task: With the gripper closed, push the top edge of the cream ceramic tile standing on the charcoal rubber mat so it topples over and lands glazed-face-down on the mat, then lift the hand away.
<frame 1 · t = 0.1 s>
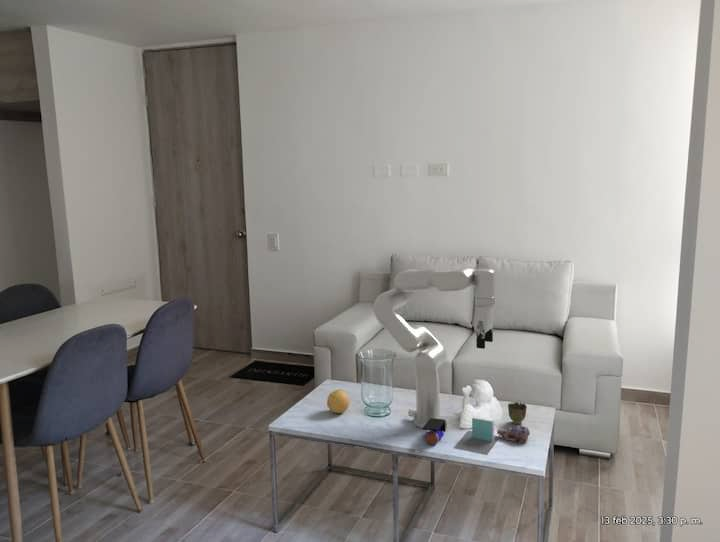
hand: (484, 344, 227), 37 cm above the table, fingers open, 9 cm apart
tile: (482, 438, 228), resting on mat
skull: (513, 439, 228), on the table, touching mat
figurine character: (435, 439, 231), on the table
orange fruit: (338, 412, 259), on the table
mat: (477, 443, 225), on the table
cup: (517, 424, 242), on the table
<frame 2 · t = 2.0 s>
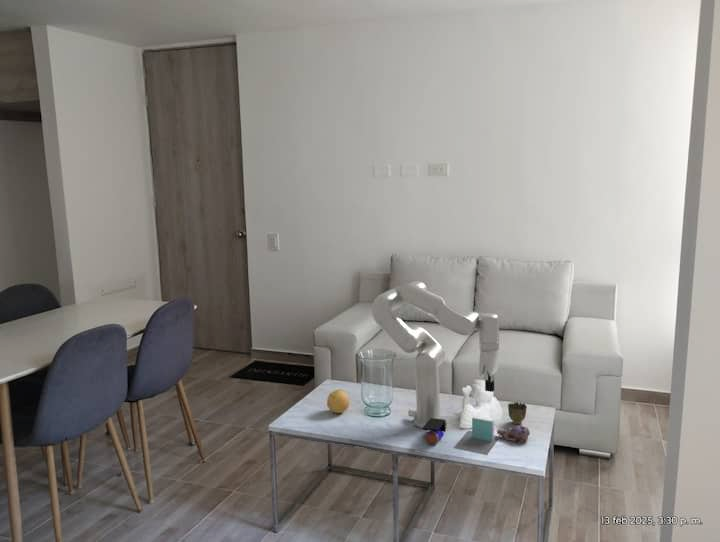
hand: (489, 390, 231), 18 cm above the table, fingers closed
nothing on the table moved.
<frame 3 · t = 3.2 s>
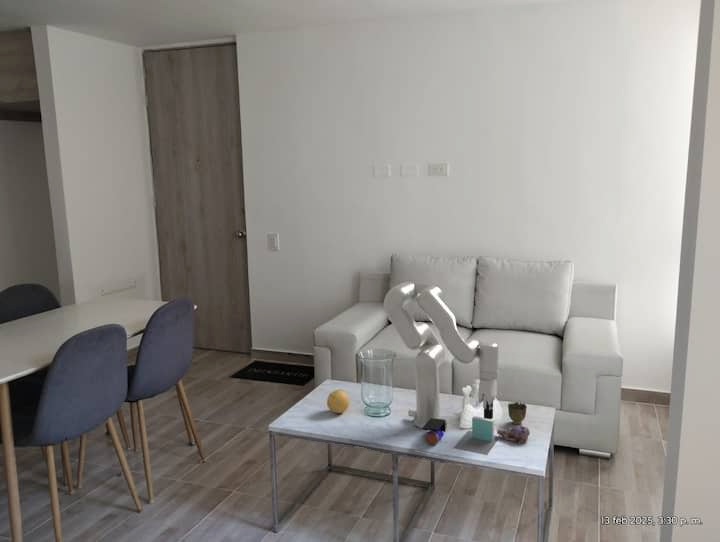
hand: (488, 418, 233), 6 cm above the table, fingers closed
nothing on the table moved.
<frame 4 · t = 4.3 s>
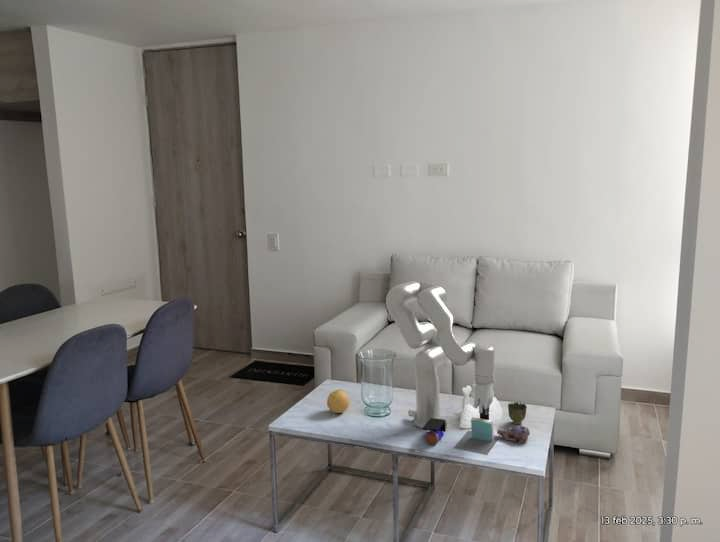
hand: (484, 423, 229), 6 cm above the table, fingers closed
tile: (482, 438, 228), point 1 cm above the table, tilted 11°, touching mat
everything else where it was.
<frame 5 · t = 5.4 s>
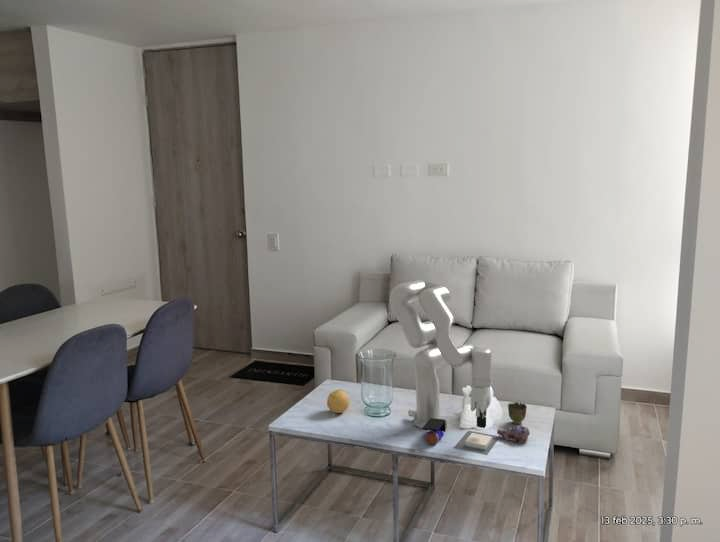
hand: (481, 426, 226), 6 cm above the table, fingers closed
tile: (482, 437, 227), point 1 cm above the table, tilted 90°, touching mat
everything else where it was.
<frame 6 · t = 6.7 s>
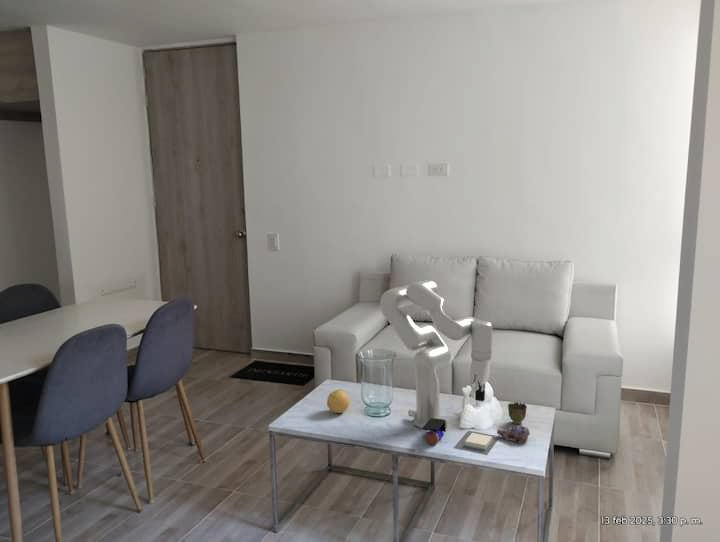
hand: (479, 399, 224), 17 cm above the table, fingers closed
nothing on the table moved.
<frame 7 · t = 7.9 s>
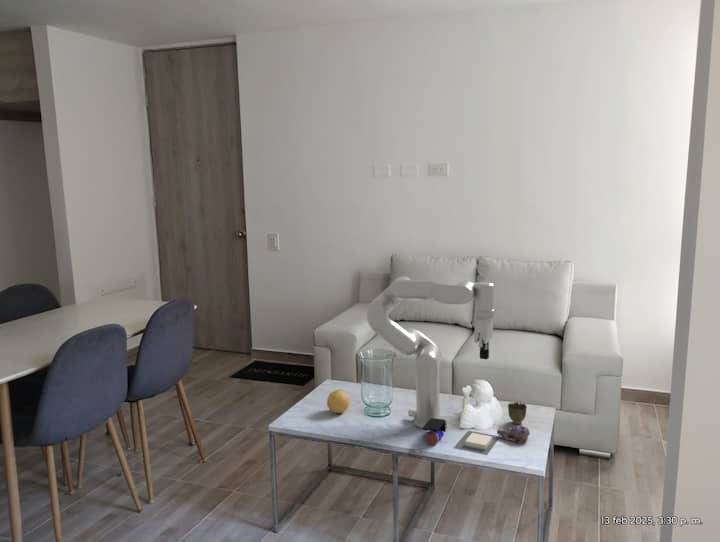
hand: (484, 358, 234), 29 cm above the table, fingers closed
nothing on the table moved.
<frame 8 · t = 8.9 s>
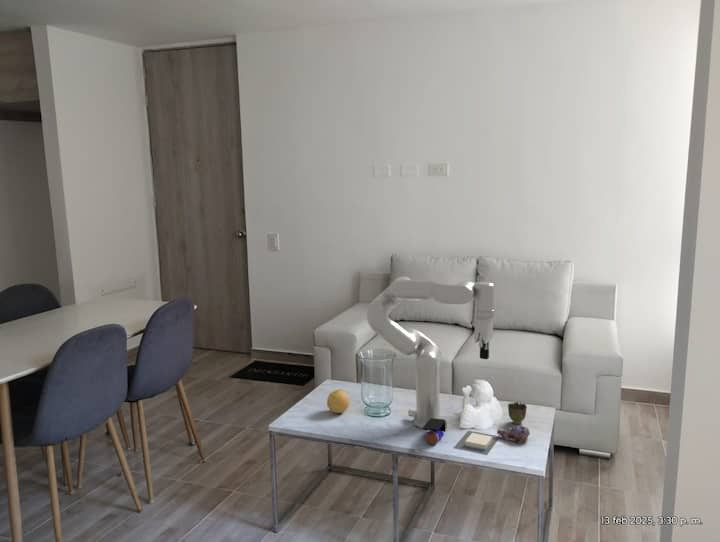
hand: (484, 358, 235), 29 cm above the table, fingers closed
nothing on the table moved.
at the end: tile tilted 90°; tile inside the target area (3.1 cm from its centre), point 1.4 cm above the table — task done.
